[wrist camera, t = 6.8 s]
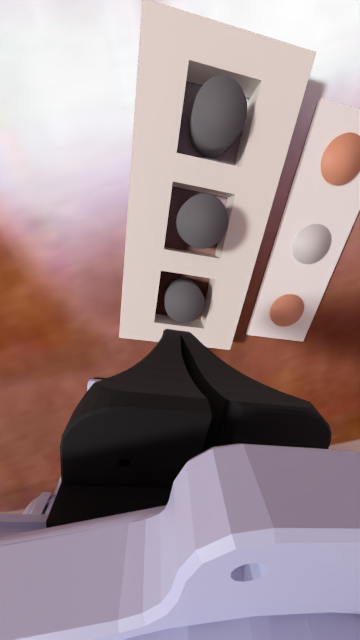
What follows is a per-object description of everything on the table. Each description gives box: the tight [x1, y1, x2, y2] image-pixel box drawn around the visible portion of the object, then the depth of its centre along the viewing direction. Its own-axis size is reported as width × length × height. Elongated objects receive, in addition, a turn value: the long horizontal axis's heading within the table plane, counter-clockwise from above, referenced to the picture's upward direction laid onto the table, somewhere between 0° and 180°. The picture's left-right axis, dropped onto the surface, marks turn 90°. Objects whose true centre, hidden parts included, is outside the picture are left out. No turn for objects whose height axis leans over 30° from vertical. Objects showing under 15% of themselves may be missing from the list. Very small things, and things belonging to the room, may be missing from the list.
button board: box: [119, 0, 316, 350], centre depth 17 cm, size 20×10×2 cm, turn 171°
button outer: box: [189, 76, 247, 157], centre depth 14 cm, size 3×3×2 cm
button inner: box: [164, 277, 205, 323], centre depth 19 cm, size 3×3×2 cm
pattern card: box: [246, 98, 360, 342], centre depth 19 cm, size 18×6×1 cm, turn 170°
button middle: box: [176, 194, 228, 249], centre depth 15 cm, size 3×3×2 cm
